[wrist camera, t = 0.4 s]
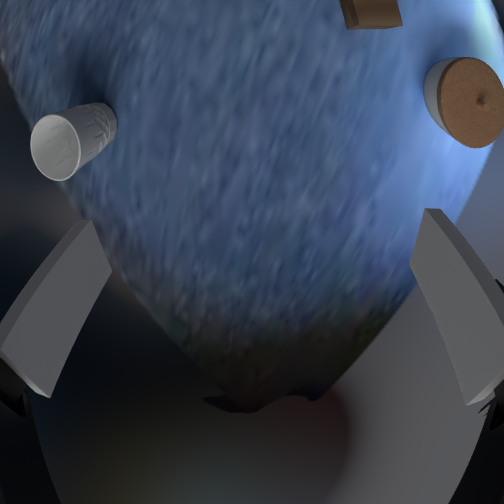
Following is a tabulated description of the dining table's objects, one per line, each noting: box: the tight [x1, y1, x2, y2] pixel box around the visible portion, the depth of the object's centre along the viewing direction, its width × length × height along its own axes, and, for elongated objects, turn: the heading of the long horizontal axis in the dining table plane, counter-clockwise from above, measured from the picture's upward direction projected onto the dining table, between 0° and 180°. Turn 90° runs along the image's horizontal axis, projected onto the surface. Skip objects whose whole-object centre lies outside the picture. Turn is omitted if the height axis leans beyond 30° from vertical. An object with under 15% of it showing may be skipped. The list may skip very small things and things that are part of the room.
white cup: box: [30, 102, 117, 181], centre depth 28 cm, size 8×8×10 cm
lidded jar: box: [423, 57, 504, 148], centre depth 23 cm, size 11×11×9 cm
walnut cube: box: [339, 0, 403, 30], centre depth 20 cm, size 5×5×5 cm
